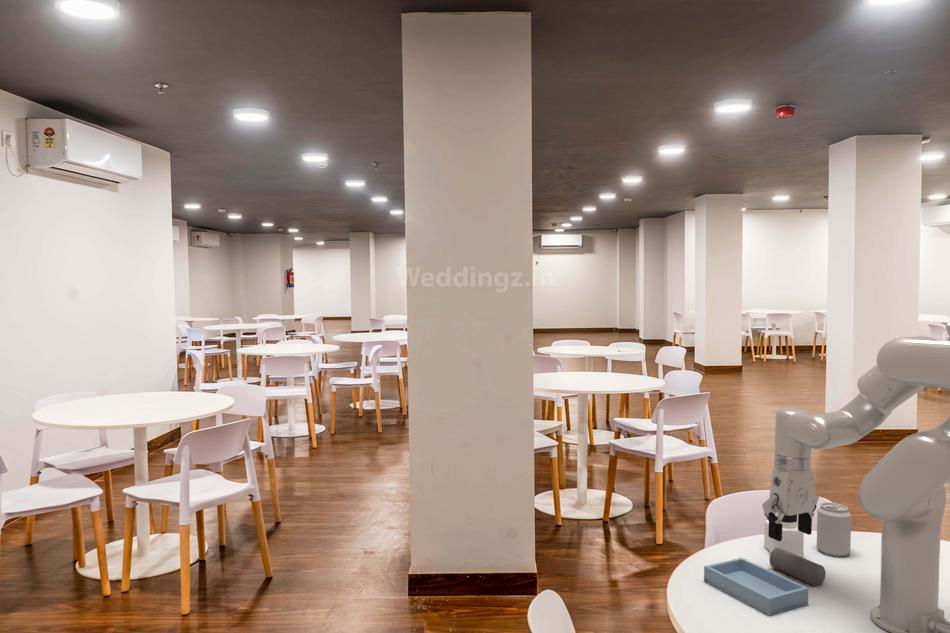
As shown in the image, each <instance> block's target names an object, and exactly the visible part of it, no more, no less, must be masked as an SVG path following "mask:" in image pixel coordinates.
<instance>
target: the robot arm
mask: <svg viewBox="0 0 950 633" xmlns="http://www.w3.org/2000/svg"><path fill="white" fill-rule="evenodd" d="M856 384H857V389H858V391H859V393H858V394H857V395H856V396H855V397H854V398H853V399H852V400H850V402H847V404H845V405H844V406H843V407H842V408H840V409H838V410H836V411H831V412H823V413H817V414H815V413H814V414H812V413H811V412H810V411H809V410H808V409H803V408H800V407H799V408H797V407H781V408H779V409H778V410H776V412H775V427H774V428H775V430H774V434H775V435H774V458H773V459H774V461H773V464H774V466H773V470H772V474H771V480H770V487H769V488H770V489H769V498H768V499H766V500H765V501H764V502H763V503H762V504H761V507H762V509H763V515H764V516H765V517H766V520H769V531H768V536H769V537H770V538H772V539H775V540H777V541H782V524H781V523H780V522H781V520H782V519H783V517H784V515H787V516H792V515H797V525H798V531H800V532H803V533H804V535H808V536H810V535H812V528H813V518H814V517H815V516H814V515H815V511H816V509H817V504H818V501H819V497H820V496H818V495H817V494H816V487H815V485H816V484H815V476H814V472H813V468H812V467H811V466H812V449H814V450H818V451H819V450H820V451H821V450H823V451H824V450H828V449H833V448H837V447H843V446H849V445H852V444H854V443H856V442H857V441H859V440H861V439H862V438H864V437H866V436H867V435H868V434H870V433H871V432H873V431H874V430H875V429H877V428H878V427H879V426H881V425H882V424H883V423H884V422H885V421H886V420H887V419H888V418H889V417H890V416H891V414H892V412H893V411H894V410H895V409H896V408H897V407H900V405H902V404H904V403H905V402H906V401H907V400H909V399H910V398H912V397H913V396H915V395H916V394H918V393H919V392H921V391H922V390H923V389H925V388H926V387H929V388H938V389H946V390H950V340H938V339H935V338H933V337H929V336H924V335H922V336H920V335H919V336H901V337H897V338H893V339H890V340H888V341H887V342H885V343H884V344H883V345H882V346H881V347H880V349H879V351H878V353H877V354H876V364H875V365H874V366H873V367H872V368H870V369H869V370H868V371H866V372H865V373H864V374H862V375H861V376H860V377H859V378H858V379H857V383H856ZM948 483H950V416H949V417H948V418H947V419H946V420H944V421H943V422H942V423H941V424H939V425H938V426H937V427H934V428H932V429H929V430H928V429H927V430H923V431H917V432H914V433H912V434H909V435H908V436H905V437H904V438H903V439H901V440H900V441H898V442H897V443H896V444H895V445H894V446H893V447H892V448H891V449H890V450H889V451H888V452H887V453H886V454H885V455H884V456H883V457H881V459H880V460H879V461H878V462H877V464H875V465H874V467H872V468H871V469H870V470H869V471H868V473H866V475H865V476H864V477H863V479H862V480H861V482H860V483H859V484H860V485H859V488H858V500H859V502H860V504H861V507H862V508H863V510H864V511H865V512H866V513H867V514H868V515H869V516H870V517H872V518H874V519H876V520H877V521H881V522H882V526H881V547H880V548H881V549H880V550H881V552H880V589H879V590H880V591H879V592H880V593H879V605H876V606H874V607H873V608H871V609H870V619H871V620H872V621H873V623H875V625H877V626H878V627H880V628H881V629H884V630H885V631H887V632H889V633H950V621H949V620H947V619H946V618H945V610H943V609H941V608H939V598H940V597H939V592H940V556H941V555H940V553H941V536H942V535H941V534H942V532H941V531H942V524H943V519H944V518H943V517H944V513H945V510H946V502H947V492H946V486H945V484H948ZM776 512H777V513H779V514H778V516H777V517H776V516H775V513H776Z"/></svg>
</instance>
